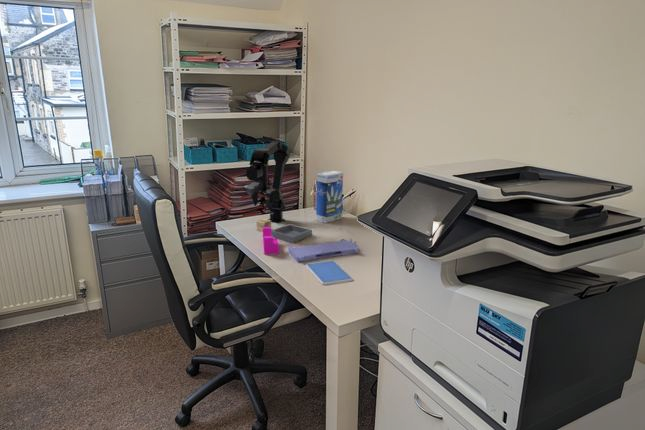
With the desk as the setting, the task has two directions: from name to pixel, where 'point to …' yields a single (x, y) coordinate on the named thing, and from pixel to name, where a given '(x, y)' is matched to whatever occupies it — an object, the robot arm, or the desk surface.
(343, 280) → the blue book
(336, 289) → the desk surface
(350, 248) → the lavender slotted plate
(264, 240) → the toy block
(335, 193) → the string lights box
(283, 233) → the tray
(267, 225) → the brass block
